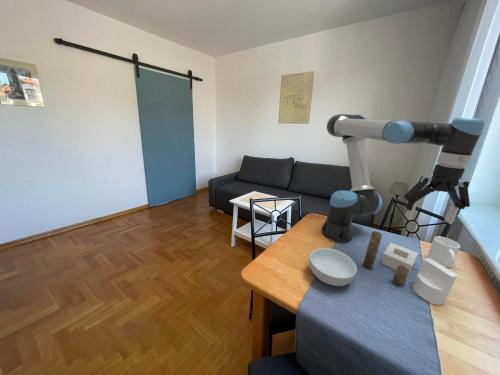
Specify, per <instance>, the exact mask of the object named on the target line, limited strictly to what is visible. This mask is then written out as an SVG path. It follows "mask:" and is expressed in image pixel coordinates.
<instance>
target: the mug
mask: <svg viewBox="0 0 500 375" xmlns="http://www.w3.org/2000/svg"><path fill="white" fill-rule="evenodd" d="M460 248H461V244H459V243H458V242H457V241H455V240H453V239H451V238H448V237H445V236H440V235H439V236H434V237H433V240H432V243H431V245H430V248H429V250H428V252H427V254H426V255H427V257H426V258H431V259H432V260H434V261H436V262H437V263H439V264H441V265H442V266H444V267H446V268H450V267H452V266H454V264H455V262H456V257H457V254H458V252H459V250H460Z"/></svg>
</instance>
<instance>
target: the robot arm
mask: <svg viewBox="0 0 500 375" xmlns="http://www.w3.org/2000/svg"><path fill="white" fill-rule="evenodd" d="M485 124H486V120H484V119H482V118H471V117H454V118H453V120H452V121H451V123H449V122H448V123H445V122H431V121H409V120H387V119H385V120H383V119H370V118H368V117H367V116H365V115H361V114H343V113H340V114H335V115H333V116H332V117H330V118H329V119H328V120H327V123H326V130H327V132H328V134H329V135H330V136H332V137H335V138H336V137H337V138H342V143H343V144H345V145H346V150H347V158H348V165H349V167H348V168H349V173H350V180H351V189H350V190H337V191H334V192H333V193H332V194H331V197H330V200H329V207H328V211H327V217H326V220H324V222H323V224H322V226H321V229H320V233H321V234H322V236H323V237H324V238H327V240H330V241H332V242H336V243H349V242H351V241H352V238H353V229H352V222H353V218H354V217H364V216H372V215H375V214H378V213H379V211H380V210H382V207H383V199H382V196H381V195H379V193H378V192H376V188H375V187H373V186H372V184H371V179H370V171H369V165H368V159H367V152H366V144H365V140H366V139H370V140H376V141H377V140H378V141H383V142H384V141H385V142H387V143H391V144H398V145H400V144H426V145H428V144H429V145H434V146H441V151H440V153H439V155H438V156H437V159H436V164H435V165H434V168H433V170H432V175H431V177H426V176H424V175H422V176H420V178H419V180H418V181H417V183H415V185H414V186H412V188H410V189H409V191H408V192H406V194H405V195H403V199H404V200H406V201H407V203H406V207H405V209H406V212H405V217H406V218H407V219H408V220H412V218H413V215H414V213H415V210H416V208H417V206H418V203H417V202H418V201H420V200H421V199H422V198H424V197H427V196H428V195H429V194H431V193H434V192H443V193H448V195H449V196H448V197H450V199H451V201H452V203H453V204H451V205H450V207H449V209H448V211H447V214H446V215H445V218H444V221H445V222H446V223H448V224H450V225H452V224H453V222H454V220H455V218H456V216H458V215H459V214H460V212H461V210H464V209H466V208H469V207H470V206H471V202H470V195H469V189H468V188H469V186H470V182H469V181H467V180H465V179H462V177H463V175H464V172H465V171H466V169H465V168H466V167H467V166H468V163H469V162H470V159H471V157H472V154H473V152H474V150H475V147H476V145H477V144H478V141H479V139H480V137H481V136H482V135H483V134H482V133H483V129H484V127H485ZM456 187H457V188H458V189H457V190H458V194H457V190H456Z"/></svg>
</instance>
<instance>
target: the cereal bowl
mask: <svg viewBox="0 0 500 375" xmlns="http://www.w3.org/2000/svg"><path fill="white" fill-rule="evenodd" d="M308 258H309V259H308V262H309V268H310V270H311V272H312V273H313V275H314V276H315V277H316V278H317V279H318V280H320V281H321V282H323V283H324V284H328V285H331V286H334V287H335V286H336V287H344V286H346V285H349V284H350V283H352V282H353V281H354V279H355V277H356V274H357V272H358V269H357V268H358V267H357V265H356V263H355V262H354V260H353V259H352V258H351V257H350V256H348V255H347V254H346V253H344V252H342V251H341V250H337V249H334V248H330V247H318V248H315V249H313V251H311V253H310V254H309V257H308Z"/></svg>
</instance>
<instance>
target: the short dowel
mask: <svg viewBox="0 0 500 375" xmlns="http://www.w3.org/2000/svg"><path fill="white" fill-rule="evenodd" d="M408 273H409V269H408V268H406V267H404V266H401V265H398V266H397V269H396V270H395V272H394V274H393V278H392V281H391V282H392V284H393V285H395V286H396V287H398V288H403V287H404V286H405V283H406V280H407V277H408V276H407V275H408Z"/></svg>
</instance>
